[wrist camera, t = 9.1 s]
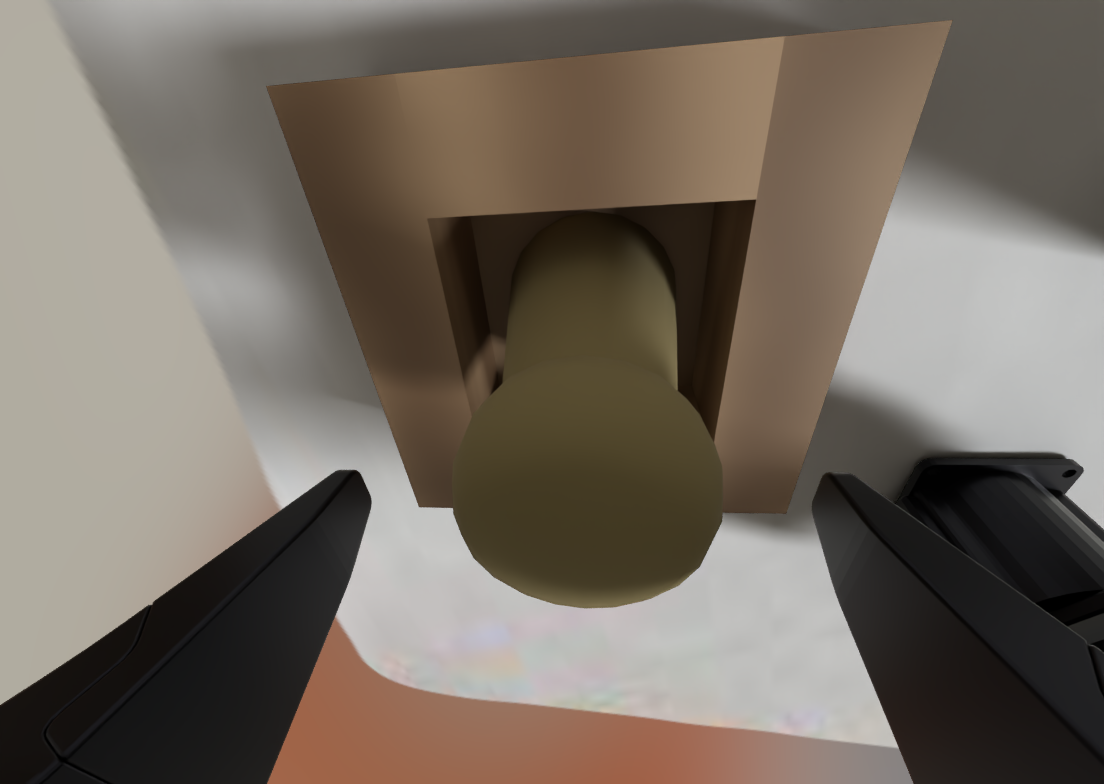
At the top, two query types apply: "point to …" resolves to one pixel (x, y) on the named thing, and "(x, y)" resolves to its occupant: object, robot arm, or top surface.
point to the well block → (622, 189)
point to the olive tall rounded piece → (589, 428)
